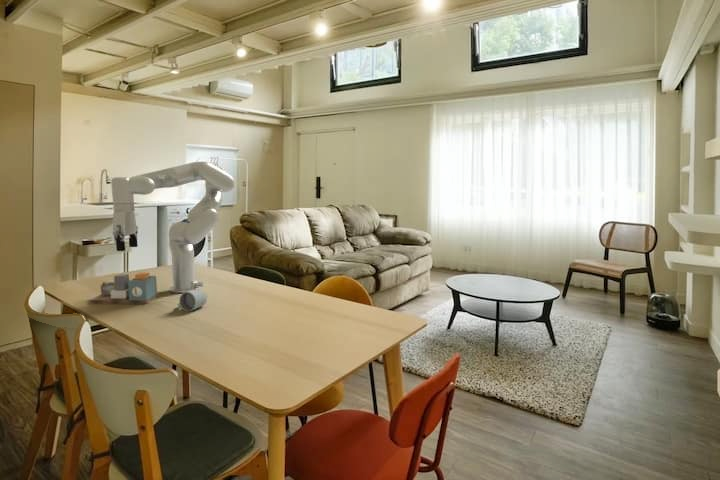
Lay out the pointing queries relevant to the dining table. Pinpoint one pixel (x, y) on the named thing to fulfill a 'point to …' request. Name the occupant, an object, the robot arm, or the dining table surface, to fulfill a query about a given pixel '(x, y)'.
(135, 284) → the gauge cabinet
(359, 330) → the dining table surface
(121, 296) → the grey stepped block
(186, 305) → the ceramic mug
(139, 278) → the button
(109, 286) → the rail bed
